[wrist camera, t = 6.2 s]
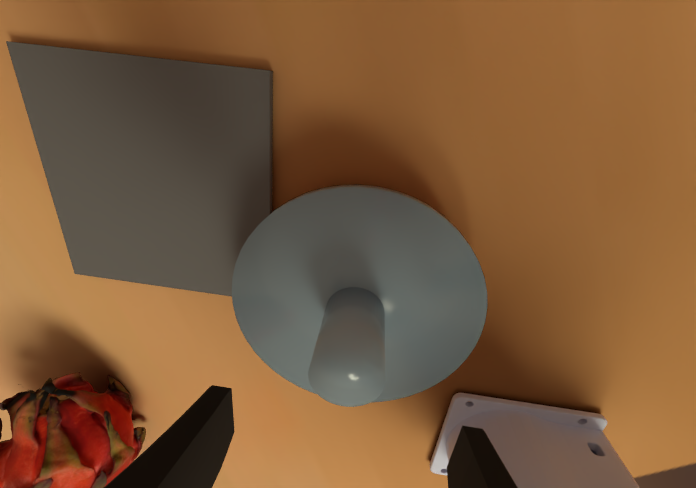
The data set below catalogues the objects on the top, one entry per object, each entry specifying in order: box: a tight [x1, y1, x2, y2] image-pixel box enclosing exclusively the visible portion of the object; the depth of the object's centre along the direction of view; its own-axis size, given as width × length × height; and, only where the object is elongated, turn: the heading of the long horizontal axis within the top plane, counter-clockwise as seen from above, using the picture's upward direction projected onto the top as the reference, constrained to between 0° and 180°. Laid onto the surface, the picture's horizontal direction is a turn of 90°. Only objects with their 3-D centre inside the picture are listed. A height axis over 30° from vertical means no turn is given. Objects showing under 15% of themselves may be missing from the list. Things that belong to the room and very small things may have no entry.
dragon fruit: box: [0, 372, 146, 488], centre depth 22 cm, size 8×8×12 cm
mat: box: [6, 41, 273, 296], centre depth 17 cm, size 12×12×1 cm
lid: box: [232, 184, 487, 407], centre depth 14 cm, size 12×12×5 cm
